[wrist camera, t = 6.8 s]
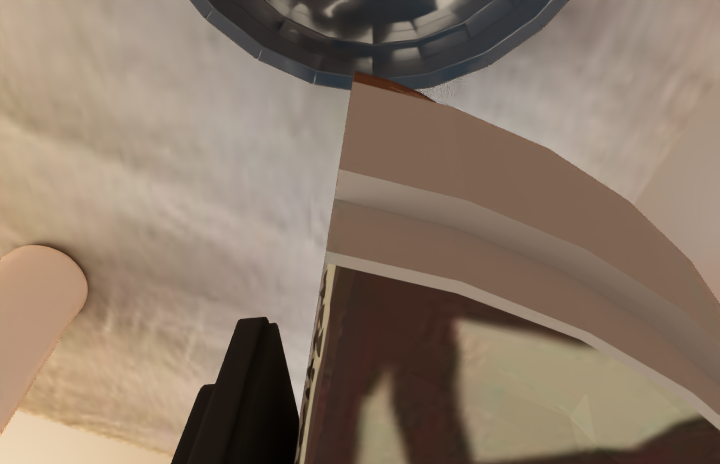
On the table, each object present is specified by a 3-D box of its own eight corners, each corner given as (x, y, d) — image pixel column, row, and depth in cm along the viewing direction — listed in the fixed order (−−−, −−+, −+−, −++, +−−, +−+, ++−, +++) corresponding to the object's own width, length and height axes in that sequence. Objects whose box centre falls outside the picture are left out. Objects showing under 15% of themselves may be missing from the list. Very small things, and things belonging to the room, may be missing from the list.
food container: (489, 443, 18) (605, 940, 9) (299, 417, 17) (222, 907, 9) (641, 50, 12) (1367, 333, 3) (364, 0, 12) (337, 165, 3)
